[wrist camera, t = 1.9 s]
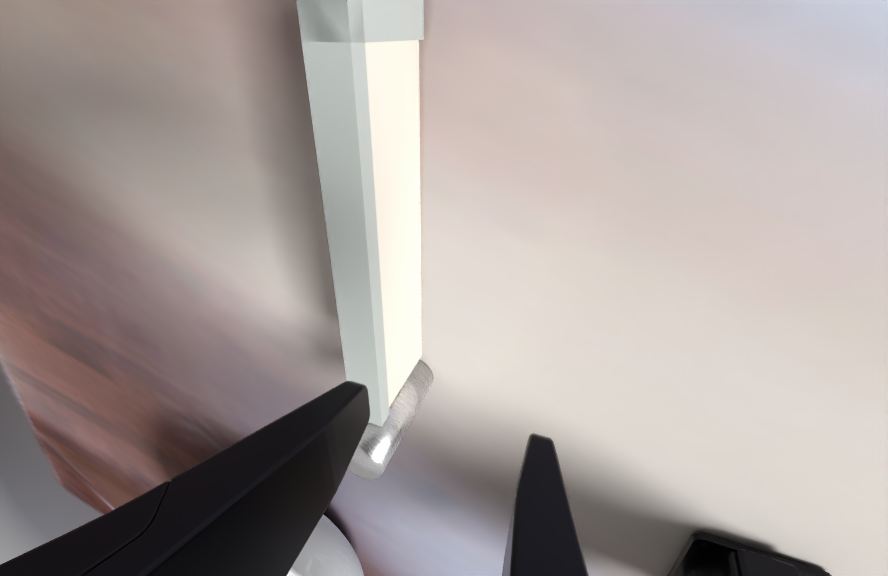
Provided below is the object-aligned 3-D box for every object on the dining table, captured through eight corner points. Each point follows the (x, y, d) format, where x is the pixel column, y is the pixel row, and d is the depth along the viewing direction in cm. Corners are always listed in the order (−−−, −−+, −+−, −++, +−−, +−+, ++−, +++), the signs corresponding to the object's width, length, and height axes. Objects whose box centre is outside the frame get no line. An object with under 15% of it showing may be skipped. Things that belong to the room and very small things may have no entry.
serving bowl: (301, 585, 49) (260, 655, 44) (172, 458, 44) (107, 519, 39) (436, 587, 38) (404, 682, 33) (284, 417, 33) (215, 495, 28)
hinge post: (433, 393, 26) (384, 485, 21) (396, 383, 26) (340, 470, 21) (433, 362, 25) (381, 453, 19) (395, 353, 25) (335, 437, 20)
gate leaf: (424, 356, 24) (381, 426, 20) (399, 349, 25) (351, 416, 20) (423, -13, 15) (345, -29, 11) (383, -13, 16) (292, -29, 11)
